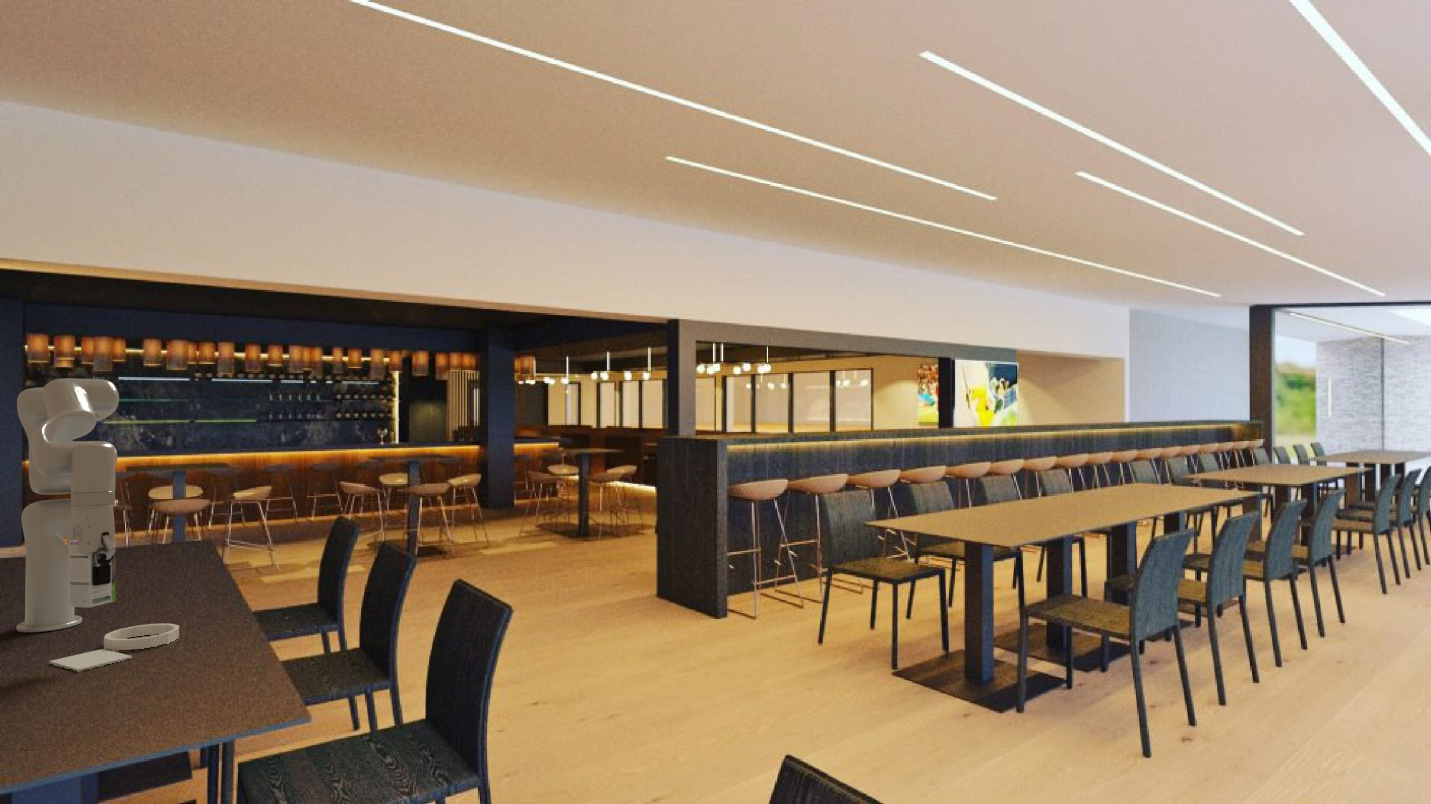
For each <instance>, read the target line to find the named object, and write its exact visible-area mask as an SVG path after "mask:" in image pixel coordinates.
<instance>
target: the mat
mask: <svg viewBox="0 0 1431 804" xmlns="http://www.w3.org/2000/svg"><path fill="white" fill-rule="evenodd" d="M131 658H132V659H133V655H130V654H129V655H128V654H125V653H120V652H119V651H110V650H106V649H104V648H100V649H97V650H93V651H87V652H83V653H79V654H74V655H69V656H66V657H61V658H57V659H52V660H49V661H48V662H49V665H51V664H53V665H52V666H54V667H58V666H59V668H62V667H64V668H63V669H65V668H66V669H65V670H68V669H72V670H74V671H73V672H75V671H77V672H76V673H82V672H84V671H83V670H86V669H90V670H93V669H92V668H94V669H96V668H95V667H98V668H102V667H105V666H104V665H106V664H110V665H113V664H112V663H114V664H116V663H115V662H118V663H121V662H120V661H122V662H125V661H124V660H126V659H131ZM132 659H131V660H132ZM126 661H127V660H126ZM101 666H102V667H101ZM106 666H107V665H106ZM72 670H71V671H72ZM81 671H82V672H81ZM86 671H87V670H86Z"/></svg>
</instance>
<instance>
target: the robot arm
mask: <svg viewBox="0 0 1431 804" xmlns="http://www.w3.org/2000/svg"><path fill="white" fill-rule="evenodd" d="M119 402H120V394H119V391H118V389H117V387H116V385H115V384H114V383H113V382H111V381H109V380H108V379H102V378H70V377H69V378H68V377H67V378H57V379H54V380H51V381H49V382H48V383H46V384H45V385H44V387H43V386H42V387H33V388H32V387H31V388H26V389H24V390H22V391H21V392H20V393H19V394H18V396H17V400H16V405H17V406H16V407H17V408H16V409H17V415H18V418H19V421H20V423H21V426H22V427H23V429H24V431H25V434H26V437H27V441H28V479H29V480H28V481H29V485H30V489H31V490H32V492H34V493H35V494H39V495H65V494H70V498H61V499H46V500H39V501H35V502H32V503H30V504H28V505H27V506H26V507H24V509H23V510H22V512H21V526H22V531H23V537H24V544H25V545H24V546H25V589H24V590H25V597H24V599H25V600H24V607H25V608H24V621H22V622H20V623H18V624H17V625H16V631H17V632H19V633H41V632H49V631H56V630H62V629H63V630H64V629H66V628H70V627H71V628H72V627H73V626H77V625H79V624H81V623H82V622H83V617H82V616H80V615H76V614H75V607H72V606H69V540H71V539H78V540H79V541H78V553H81V554H84V555H90V554H92V553H93V560H94V564H95V567H92V585H93V586H97V585H103V584H109V583H110V582H111V564H112V558H113V554H114V553H115V554H116V530H115V529H116V525H115V514H114V506H116V465H117V464H118V463H117V462H118V451H117V449H116V448H115V446H114V444H112V443H111V442H109V441H104V440H90V441H89V440H87V441H84V440H83V441H82V440H76V439H79V438H81V437H83V436H86V435H88V434H89V433H90V432H92V431H93V430H94V429H95V427H96V424H97V421H98V422H99V421H103V420H104V419H106V418H107V417H109V416H111V415H112V414H113V413H114V412H115V411H116V410H117V408H118V405H119ZM74 440H76V441H74ZM64 538H67V543H66V542H64V541H63V539H64ZM97 549H98V550H101V549H104V551H98V552H97ZM99 555H102V556H101V557H100V559H99Z"/></svg>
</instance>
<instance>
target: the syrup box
mask: <svg viewBox="0 0 1431 804" xmlns="http://www.w3.org/2000/svg"><path fill="white" fill-rule="evenodd" d="M78 541H79V540H78V539H71V540H69V606H72V607H74V608H94V607H97V606H101V605H105V604H109V603H115V601H116V552H115V553H114V554H113V558H112V564H111V582H110V583H109V584H103V585H97V586H93V585H92V567H95V564H94V560H93V553H92V554H90V555H84V554H81V553H78ZM98 551H104V549H101V550H98V549H97V552H98ZM101 556H102V555H99V559H100V557H101Z"/></svg>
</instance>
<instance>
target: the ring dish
mask: <svg viewBox="0 0 1431 804" xmlns="http://www.w3.org/2000/svg"><path fill="white" fill-rule="evenodd" d="M154 634H155V635H154ZM156 634H159V635H156ZM144 635H150V636H144ZM136 636H137V637H136ZM138 636H142V637H138ZM130 637H135V638H130ZM127 638H130V639H127ZM178 638H180V625H178V624H173V623H149V624H139V625H134V626H130V627H124V628H119V629H115V630H113V631H110V632H108V633H106V634H105V635H104V637H103V649H109V650H112V651H114V652H120V651H119V650H131V649H143V650H145V649H144V648H150V647H155V648H158V647H157V646H159V645H162V644H167V645H170V644H171V643H170V642H172V643H173V641H174V642H176V641H177V640H176V639H178ZM175 640H176V641H175ZM178 640H179V639H178ZM169 643H170V644H169ZM159 647H160V646H159ZM150 649H151V648H150ZM116 650H117V651H116Z"/></svg>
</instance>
